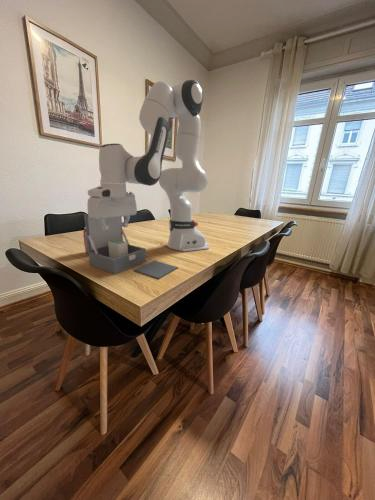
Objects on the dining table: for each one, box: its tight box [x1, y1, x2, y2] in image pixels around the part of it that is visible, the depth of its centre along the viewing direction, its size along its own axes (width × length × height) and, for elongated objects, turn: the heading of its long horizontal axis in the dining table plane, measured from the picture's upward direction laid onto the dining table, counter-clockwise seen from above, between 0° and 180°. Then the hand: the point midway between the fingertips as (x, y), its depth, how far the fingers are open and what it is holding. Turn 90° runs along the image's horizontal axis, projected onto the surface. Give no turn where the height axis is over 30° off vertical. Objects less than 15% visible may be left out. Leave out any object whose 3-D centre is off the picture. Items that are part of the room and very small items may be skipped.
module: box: [108, 240, 128, 259], centre depth 84 cm, size 6×4×9 cm
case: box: [83, 213, 147, 275], centre depth 82 cm, size 15×17×20 cm
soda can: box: [82, 226, 89, 255], centre depth 93 cm, size 7×7×12 cm
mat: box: [133, 260, 179, 280], centre depth 80 cm, size 12×12×1 cm
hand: (115, 228), depth 80 cm, fingers open, 8 cm apart
